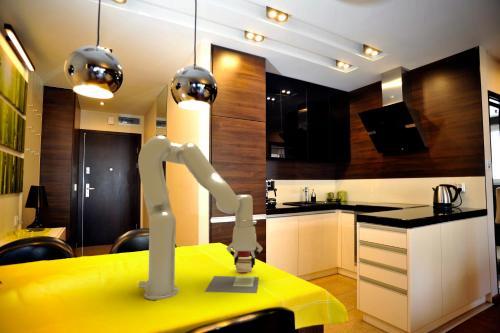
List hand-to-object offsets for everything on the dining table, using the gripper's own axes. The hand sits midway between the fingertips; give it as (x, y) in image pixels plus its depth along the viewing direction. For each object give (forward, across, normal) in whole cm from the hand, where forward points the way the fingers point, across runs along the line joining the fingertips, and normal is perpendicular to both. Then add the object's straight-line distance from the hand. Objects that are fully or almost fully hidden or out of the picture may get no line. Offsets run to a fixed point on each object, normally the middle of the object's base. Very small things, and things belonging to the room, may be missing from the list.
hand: (244, 266), depth 115 cm
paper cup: (+7, +2, -13) cm, 15 cm away
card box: (+1, 0, 0) cm, 1 cm away
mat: (+7, +4, +3) cm, 9 cm away
